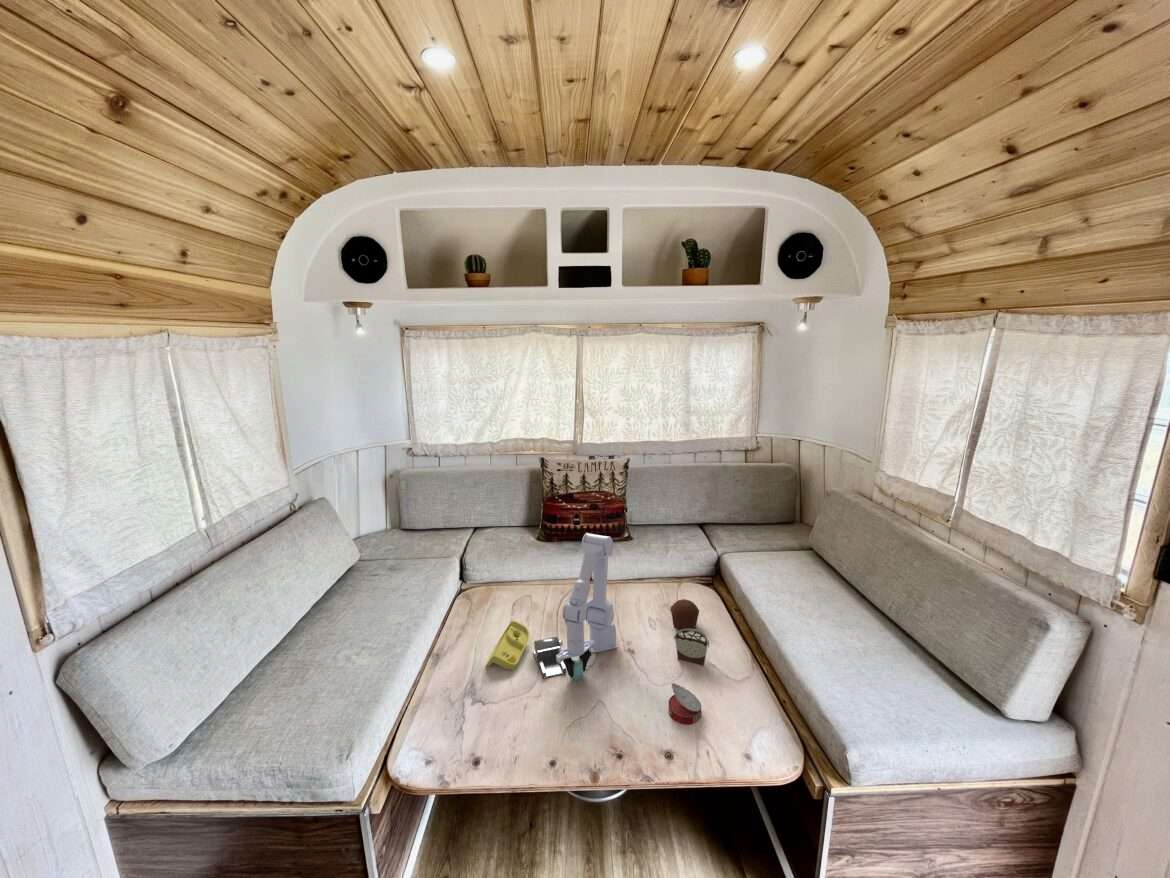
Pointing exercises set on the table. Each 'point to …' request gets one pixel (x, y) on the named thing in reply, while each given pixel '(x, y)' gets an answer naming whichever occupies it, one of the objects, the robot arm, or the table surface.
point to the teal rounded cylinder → (577, 669)
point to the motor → (549, 656)
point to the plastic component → (510, 646)
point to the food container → (691, 646)
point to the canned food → (684, 706)
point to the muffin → (684, 614)
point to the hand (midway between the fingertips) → (576, 672)
